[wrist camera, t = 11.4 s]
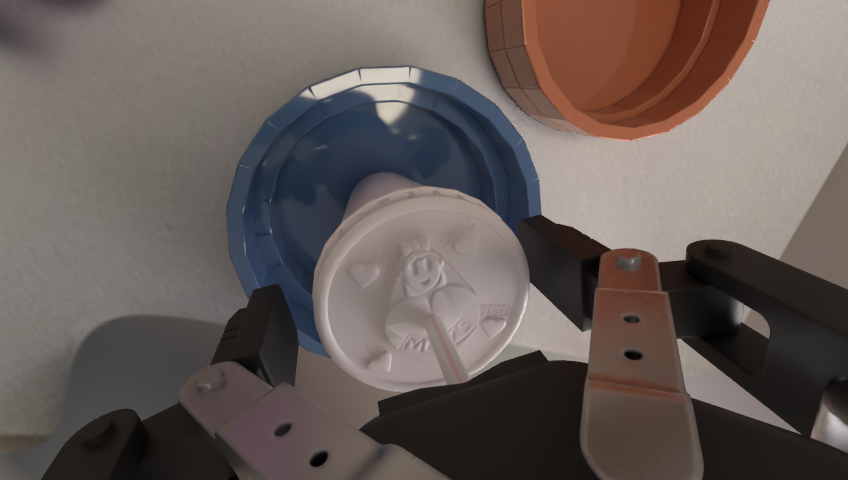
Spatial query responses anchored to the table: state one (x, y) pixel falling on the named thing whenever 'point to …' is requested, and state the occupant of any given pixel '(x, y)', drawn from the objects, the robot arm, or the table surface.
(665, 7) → the terracotta bowl
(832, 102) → the table surface
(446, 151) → the blue bowl
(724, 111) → the table surface
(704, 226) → the table surface
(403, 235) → the smoothie
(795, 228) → the table surface
